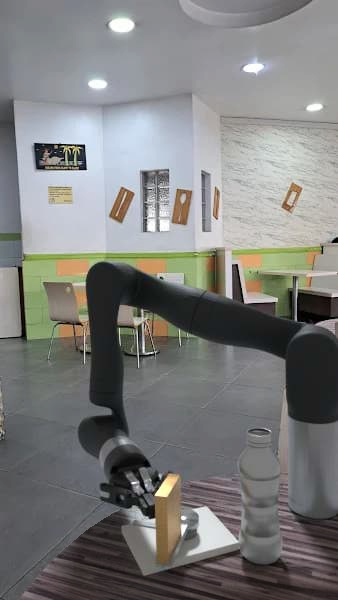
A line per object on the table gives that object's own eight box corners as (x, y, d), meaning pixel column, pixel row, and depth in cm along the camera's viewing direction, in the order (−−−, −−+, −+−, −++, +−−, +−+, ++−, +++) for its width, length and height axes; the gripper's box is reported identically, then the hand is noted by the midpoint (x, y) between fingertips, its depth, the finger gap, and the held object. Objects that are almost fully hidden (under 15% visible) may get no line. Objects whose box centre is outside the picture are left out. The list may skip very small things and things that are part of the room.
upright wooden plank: (173, 513, 82) (172, 454, 81) (201, 517, 80) (200, 457, 79) (146, 564, 68) (143, 494, 67) (179, 570, 67) (178, 498, 66)
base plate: (205, 510, 87) (204, 498, 87) (243, 553, 75) (242, 539, 74) (120, 530, 82) (120, 517, 81) (146, 580, 69) (145, 565, 69)
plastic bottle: (283, 573, 70) (283, 441, 68) (237, 568, 71) (235, 438, 69) (282, 546, 76) (281, 425, 74) (239, 542, 77) (238, 423, 76)
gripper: (86, 449, 82) (109, 496, 66) (158, 437, 87) (196, 479, 71) (87, 491, 83) (110, 547, 67) (159, 477, 88) (197, 527, 71)
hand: (154, 512), depth 69 cm, fingers closed
